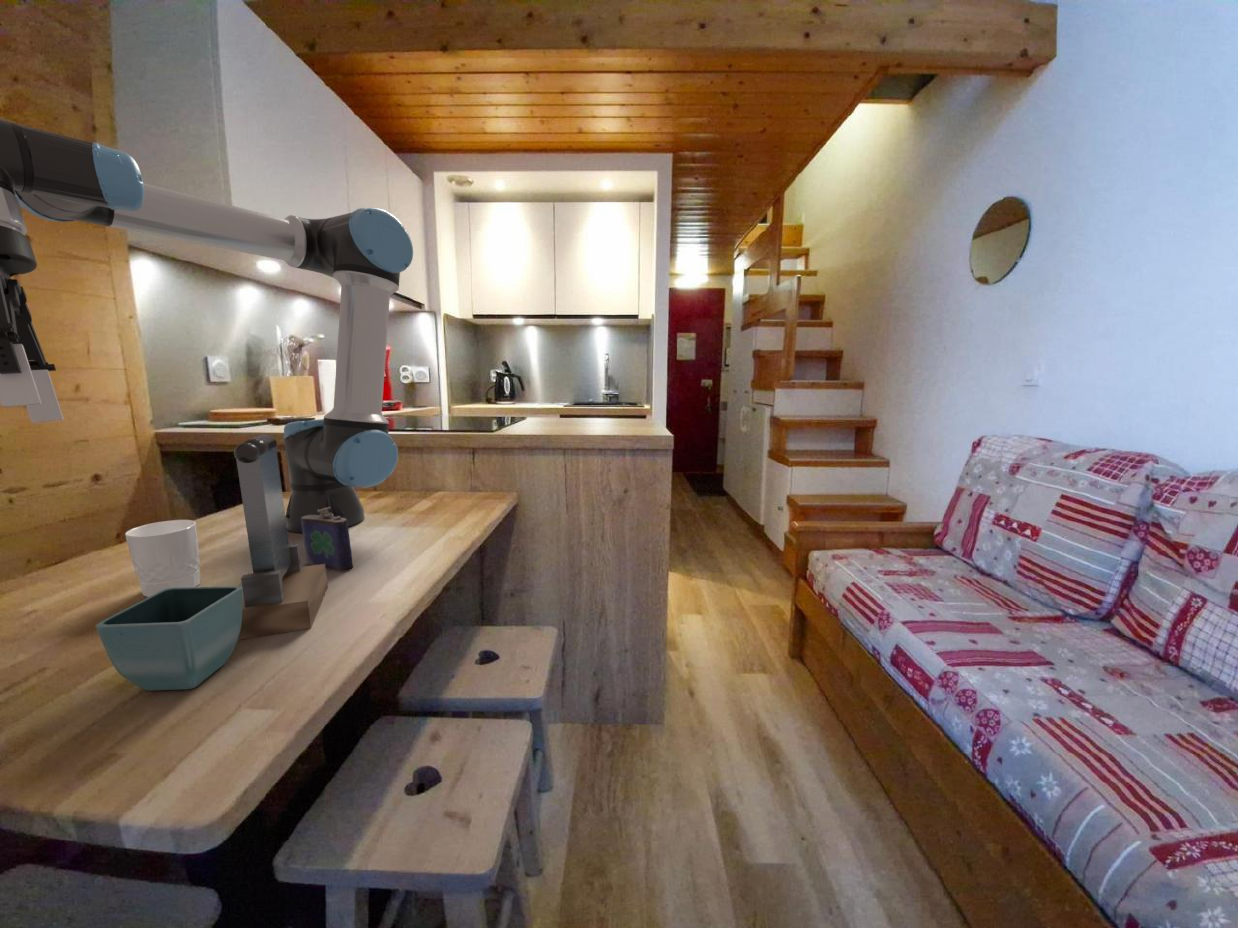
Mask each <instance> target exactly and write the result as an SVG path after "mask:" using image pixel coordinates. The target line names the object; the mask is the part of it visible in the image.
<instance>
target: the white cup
mask: <svg viewBox="0 0 1238 928" xmlns="http://www.w3.org/2000/svg"><path fill="white" fill-rule="evenodd" d="M197 531H198V530H197V523H196V521H194V520H192V519H174V520H166V521H165V520H164V521H158V522H157V521H156V522H151V523H147V524H144V525H140V526H136V527H133V528H131V529H129V530H127V531H126V532H125V539H126V542H127V546H128V549H129V554H130V558H131V561H132V565H133V568H134V569H135V570H134V571H135V573H136V577H137V579H138V580H139V585H140V589H141V592H142V593H141V594H142V596H144V597H146V598H148V597H150V596H152V595H154V594H156V593H158V592H160V591H162V590H164V589H167V588H190V587H199V585H200V584H201V573H200V566H201V562H200V554H199V550H200V549H199V540H198V532H197Z"/></svg>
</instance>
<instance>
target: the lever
mask: <svg viewBox="0 0 1238 928" xmlns="http://www.w3.org/2000/svg"><path fill="white" fill-rule="evenodd" d="M233 455H234V458H235V460H236V466H237V471H238V472H237V473H238V479H239V487H240V493H241V500H242V506H243V512H244V520H245V528H246V533H247V541H248V547H249V554H250V561H251V568H252V573H253V574H254V573H262V572H270V571H278V570H281V575H282V578H283V577H284V575H285V573H286V572H287V570H288V568H289V567H290V565H291V556H290V548H289V545H290V543H289V542H290V541H289V533H288V530H287V525H286V518H285V515H286V512H285V503H284V496H283V487H282V481H281V475H280V473H281V472H280V465H279V464H280V463H279V458H278V450H277V440H276V439H275V437H274V436H272V435H270V434H267V433H264V434H263V433H262V434H260V435H256V436H255V437H253V438H250V439H249V440H246V441H243V442H241V443H239V444H238V445H236V447H235V448H234V449H233Z"/></svg>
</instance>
